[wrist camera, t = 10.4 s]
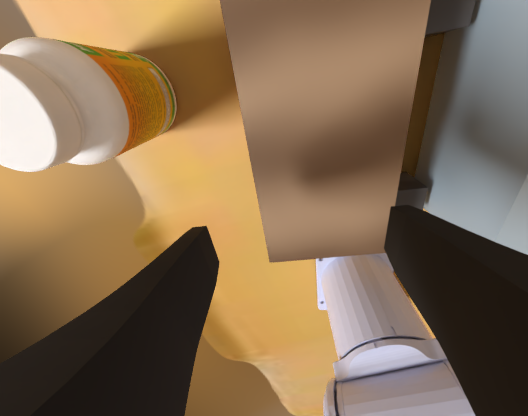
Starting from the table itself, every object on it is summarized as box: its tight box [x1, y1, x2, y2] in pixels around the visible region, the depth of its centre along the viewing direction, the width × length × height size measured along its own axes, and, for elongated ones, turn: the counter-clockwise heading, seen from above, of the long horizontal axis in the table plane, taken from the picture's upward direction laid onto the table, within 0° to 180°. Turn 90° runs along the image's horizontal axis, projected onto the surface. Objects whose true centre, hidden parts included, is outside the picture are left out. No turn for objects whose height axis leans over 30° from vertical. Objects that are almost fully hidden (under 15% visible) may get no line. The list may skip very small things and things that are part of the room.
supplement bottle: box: [0, 37, 177, 172], centre depth 12 cm, size 5×5×10 cm
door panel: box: [414, 0, 528, 255], centre depth 12 cm, size 14×4×8 cm, turn 9°
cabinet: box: [220, 0, 476, 262], centre depth 13 cm, size 15×17×6 cm
